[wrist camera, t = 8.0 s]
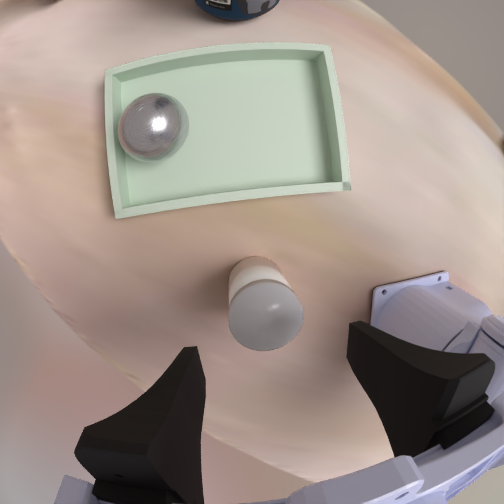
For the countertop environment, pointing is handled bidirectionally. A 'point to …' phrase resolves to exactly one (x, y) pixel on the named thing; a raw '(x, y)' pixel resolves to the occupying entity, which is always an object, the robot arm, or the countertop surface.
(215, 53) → the tray
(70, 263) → the countertop surface
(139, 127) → the ball
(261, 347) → the shaker
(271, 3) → the soda can
